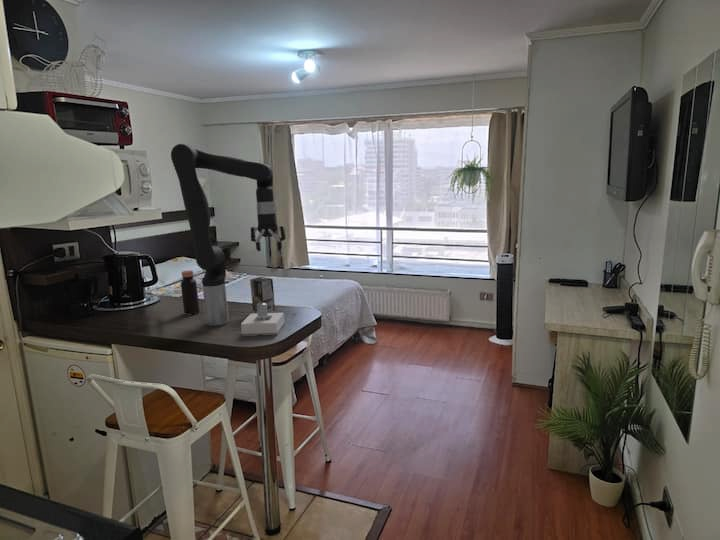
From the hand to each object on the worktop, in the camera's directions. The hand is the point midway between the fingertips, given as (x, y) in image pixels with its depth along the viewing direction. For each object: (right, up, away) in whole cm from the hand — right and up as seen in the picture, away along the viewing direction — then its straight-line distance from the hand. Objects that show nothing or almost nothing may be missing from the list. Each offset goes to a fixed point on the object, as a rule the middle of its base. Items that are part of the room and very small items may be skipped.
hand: (269, 250), depth 197 cm
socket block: (0, -33, -9) cm, 34 cm away
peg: (-1, -32, -9) cm, 33 cm away
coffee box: (-5, -28, +15) cm, 32 cm away
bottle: (-40, -29, +20) cm, 53 cm away
